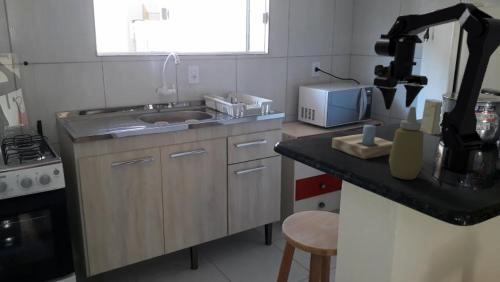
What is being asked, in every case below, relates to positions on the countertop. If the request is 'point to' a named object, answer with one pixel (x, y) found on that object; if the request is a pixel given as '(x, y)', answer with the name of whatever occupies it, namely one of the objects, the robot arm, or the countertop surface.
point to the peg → (368, 135)
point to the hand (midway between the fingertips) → (397, 108)
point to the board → (357, 149)
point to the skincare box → (431, 117)
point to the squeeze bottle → (407, 148)
